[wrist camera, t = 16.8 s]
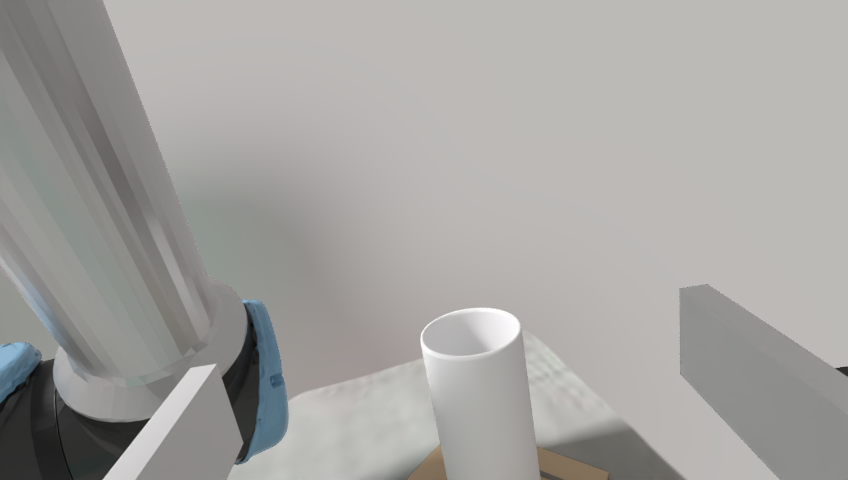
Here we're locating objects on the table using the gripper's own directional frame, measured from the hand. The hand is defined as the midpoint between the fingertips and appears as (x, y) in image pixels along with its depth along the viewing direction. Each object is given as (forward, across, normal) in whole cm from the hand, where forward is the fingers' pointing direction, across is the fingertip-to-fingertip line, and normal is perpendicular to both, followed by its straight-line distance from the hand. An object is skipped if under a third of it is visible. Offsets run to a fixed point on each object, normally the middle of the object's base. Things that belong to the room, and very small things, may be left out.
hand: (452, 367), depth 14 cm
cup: (+23, +2, -28) cm, 36 cm away
